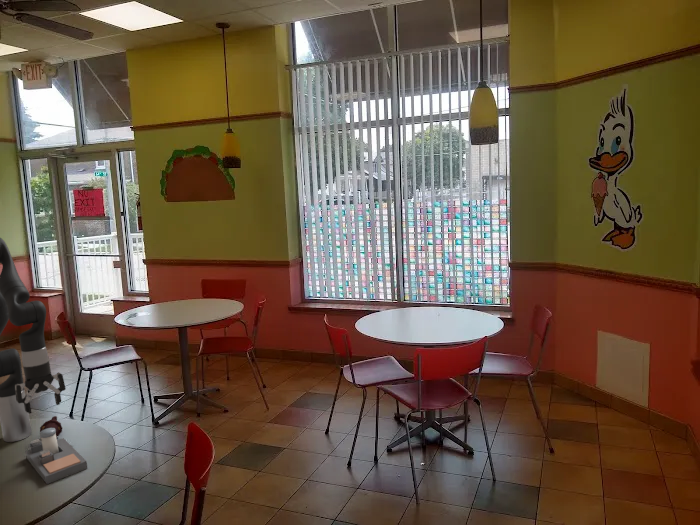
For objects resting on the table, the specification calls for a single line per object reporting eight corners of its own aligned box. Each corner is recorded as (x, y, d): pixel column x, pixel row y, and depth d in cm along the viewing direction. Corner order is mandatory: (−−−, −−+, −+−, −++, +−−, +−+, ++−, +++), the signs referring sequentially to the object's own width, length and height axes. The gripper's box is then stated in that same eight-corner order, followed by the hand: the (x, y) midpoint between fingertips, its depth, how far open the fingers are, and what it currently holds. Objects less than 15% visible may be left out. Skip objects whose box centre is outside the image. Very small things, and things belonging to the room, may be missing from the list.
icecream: (60, 426, 196) (66, 414, 210) (37, 425, 194) (45, 413, 208) (57, 445, 196) (64, 432, 210) (34, 445, 194) (42, 431, 208)
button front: (41, 460, 179) (39, 452, 179) (49, 457, 181) (47, 449, 180) (43, 463, 177) (41, 454, 177) (51, 460, 179) (49, 451, 179)
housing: (26, 458, 188) (24, 445, 187) (64, 444, 196) (62, 432, 195) (46, 484, 169) (44, 470, 169) (87, 468, 177) (85, 455, 177)
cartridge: (42, 459, 186) (37, 431, 184) (57, 453, 189) (52, 426, 187) (47, 463, 183) (42, 435, 181) (62, 457, 186) (57, 430, 184)
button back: (32, 449, 188) (30, 441, 188) (39, 446, 190) (38, 438, 189) (33, 451, 186) (32, 443, 186) (41, 449, 188) (40, 440, 187)
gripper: (56, 354, 188) (63, 398, 191) (8, 365, 179) (17, 412, 181) (62, 358, 183) (70, 404, 185) (13, 370, 173) (22, 419, 176)
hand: (43, 408), depth 183 cm, fingers open, 8 cm apart
